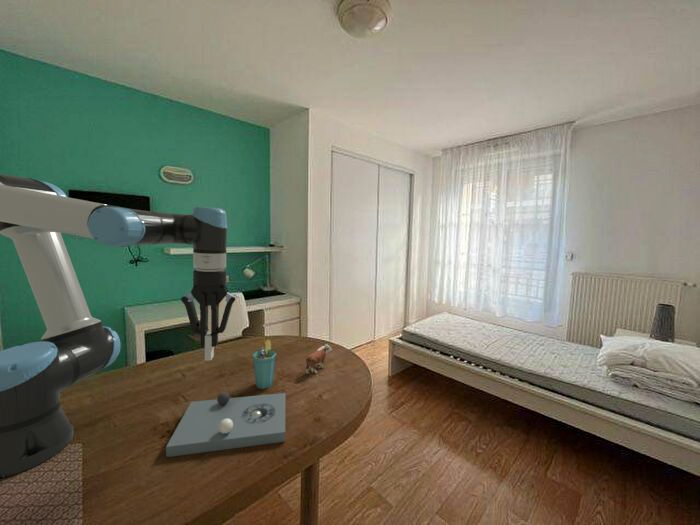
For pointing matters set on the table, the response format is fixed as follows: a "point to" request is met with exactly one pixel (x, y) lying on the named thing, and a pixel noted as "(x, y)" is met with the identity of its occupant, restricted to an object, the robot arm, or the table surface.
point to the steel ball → (256, 414)
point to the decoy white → (225, 426)
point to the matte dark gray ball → (223, 398)
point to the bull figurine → (317, 358)
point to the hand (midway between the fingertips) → (209, 358)
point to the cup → (264, 366)
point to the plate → (205, 416)
